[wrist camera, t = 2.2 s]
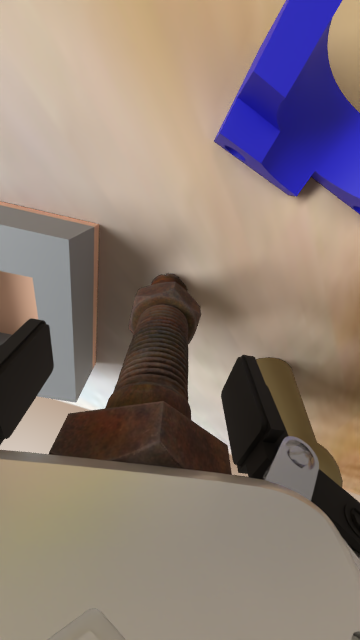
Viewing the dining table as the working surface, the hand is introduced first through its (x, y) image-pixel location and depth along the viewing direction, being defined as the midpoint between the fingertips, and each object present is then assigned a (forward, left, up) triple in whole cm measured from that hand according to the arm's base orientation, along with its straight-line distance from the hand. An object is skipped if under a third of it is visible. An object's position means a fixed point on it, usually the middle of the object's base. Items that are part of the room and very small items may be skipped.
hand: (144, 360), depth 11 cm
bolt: (-1, 0, -9) cm, 9 cm away
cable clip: (-8, -11, -10) cm, 16 cm away
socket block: (+11, +3, -9) cm, 15 cm away
